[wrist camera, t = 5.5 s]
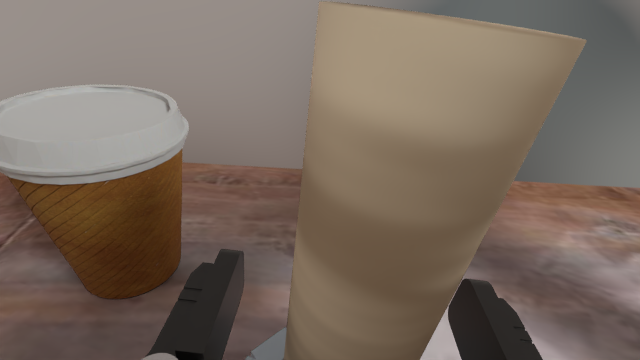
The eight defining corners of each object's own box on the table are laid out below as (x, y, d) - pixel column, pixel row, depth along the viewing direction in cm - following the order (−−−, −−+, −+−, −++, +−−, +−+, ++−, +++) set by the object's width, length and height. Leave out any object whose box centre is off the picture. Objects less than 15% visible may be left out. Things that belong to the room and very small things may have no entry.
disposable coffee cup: (225, 237, 26) (217, 99, 20) (146, 341, 18) (91, 165, 12) (126, 211, 28) (90, 74, 21) (13, 298, 20) (-99, 118, 13)
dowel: (320, 383, 17) (407, 9, 7) (377, 454, 14) (609, 40, 5) (257, 442, 14) (268, -6, 5) (313, 540, 12) (534, 41, 3)
